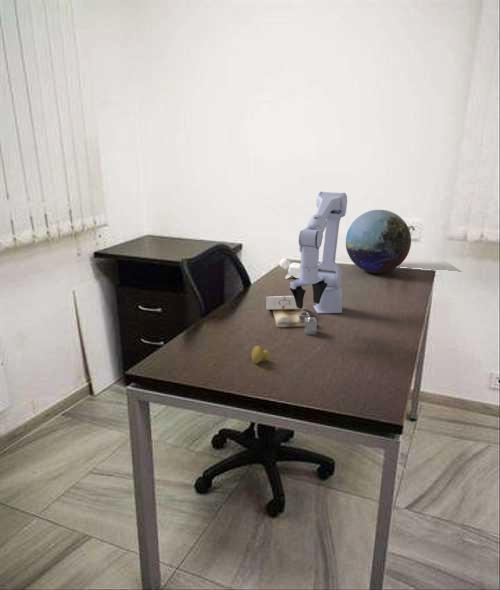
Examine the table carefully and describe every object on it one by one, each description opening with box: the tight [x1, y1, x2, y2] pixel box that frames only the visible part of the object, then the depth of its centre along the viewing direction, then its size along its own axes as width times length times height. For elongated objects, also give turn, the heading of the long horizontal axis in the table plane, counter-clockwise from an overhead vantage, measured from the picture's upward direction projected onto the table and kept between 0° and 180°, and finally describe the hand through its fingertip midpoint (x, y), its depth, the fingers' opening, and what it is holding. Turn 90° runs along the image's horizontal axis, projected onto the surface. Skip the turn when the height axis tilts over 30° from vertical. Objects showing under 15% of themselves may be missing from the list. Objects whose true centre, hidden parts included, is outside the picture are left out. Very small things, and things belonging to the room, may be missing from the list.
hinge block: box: [303, 316, 318, 336], centre depth 156 cm, size 4×4×5 cm
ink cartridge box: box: [265, 295, 307, 310], centre depth 174 cm, size 9×5×15 cm
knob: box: [251, 345, 269, 364], centre depth 136 cm, size 5×5×5 cm
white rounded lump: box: [279, 257, 301, 280], centre depth 217 cm, size 9×8×15 cm
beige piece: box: [272, 308, 311, 328], centre depth 167 cm, size 12×14×5 cm
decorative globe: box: [345, 209, 412, 274], centre depth 221 cm, size 30×30×30 cm
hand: (308, 305), depth 155 cm, fingers open, 7 cm apart
